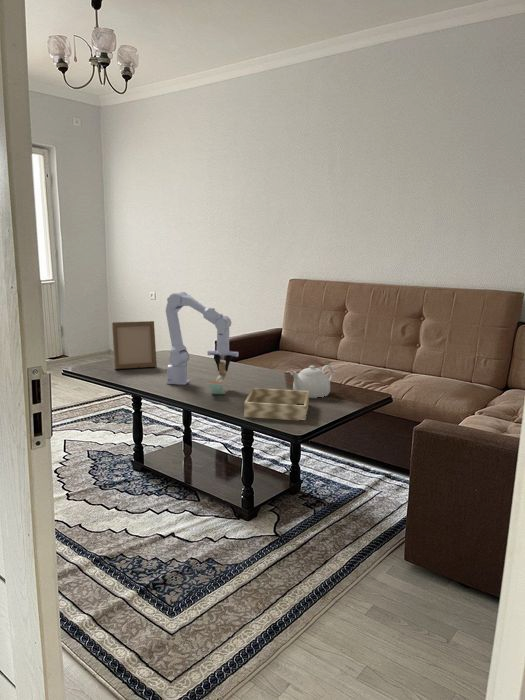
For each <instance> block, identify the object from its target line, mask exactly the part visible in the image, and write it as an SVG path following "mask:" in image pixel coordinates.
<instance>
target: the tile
mask: <svg viewBox="0 0 525 700" xmlns="http://www.w3.org/2000/svg"><path fill="white" fill-rule="evenodd" d="M208 387H209V391H210V393H211V394H213V395H225V392H226V391H225V387H224V383H223V381H222V382H217V381H215V380H213V381H212V380H209V381H208Z"/></svg>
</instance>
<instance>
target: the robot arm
mask: <svg viewBox="0 0 525 700" xmlns="http://www.w3.org/2000/svg"><path fill="white" fill-rule="evenodd" d="M166 299H167V300H166V301H167V303H166V307H165V315H166V316H165V317H166V320H167V321H166V322H167V326H168V333H169V338H170V343H171V348H170V350H169V358H168V359H169V363H170V364H168V365H167V368H166V384H167V385H182V386H183V385H184V386H186V385H187V384H188V383H189V382H190V379H188V362H189V360H190V354H189V352H188V350H187V346H186V345H184V342H183V337H182V330H181V325H180V319H179V316H178V315H179V313H178V312H180V310H181V309H182V308H183V307H190V308H192V309H193V310H196V311H197V312H198V313H200V314H202V316H203V318H204V319H205V320H207V321H208V322H209V323H212V324H213V326H215V329H216V330H217V331H216V350H207V356H213V360H214V362H215V364H216V367H217V372H219V363H220V362H221V357H225V358H224V359H225V362H226V368H225V370H226V371H227V372H228V371H229V366H230V363H231V362H232V361H231V360H232V358H233V357H235V358H238V357H239V351H232V350H230V327H231V325H232V319H230V317H229V316H227V315H224V314H222V313H220V312H218V311H217V310H216V308H214V307H206V306H204V305H203V304H202V303H200V302H199V301H198V300H196V299H195V298H194V297H192V296H191V294H188V293H187V292H184V291H181V292H175V293H171V294H170V295H169V296H168V297H167V298H166Z"/></svg>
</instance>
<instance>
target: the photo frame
mask: <svg viewBox="0 0 525 700" xmlns="http://www.w3.org/2000/svg"><path fill="white" fill-rule="evenodd" d="M111 324H112V325H111V326H112V327H111V329H112V343H113V356H114V357H113V360H114V370H121V369H136V368H138V367H139V368H151V367H152V368H154V367H157V365H158V364H157V362H158V361H157V350H156V349H157V348H156V333H155V321H154V320H151V321H124V322H123V321H116V322H112V323H111Z"/></svg>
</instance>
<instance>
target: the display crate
mask: <svg viewBox="0 0 525 700" xmlns="http://www.w3.org/2000/svg"><path fill="white" fill-rule="evenodd" d="M309 399H310V398H309V391H297V390H293V389H278V388H277V389H276V388H259V387H252V389H251V390H250V392H249V394H248V395H247V397H246V399H245V401H244V403H243V407H244V408H243V417H244V418H251V419H252V418H253V419H256V418H257V419H271V420H272V419H273V420H286V421H287V420H288V421H299V420H306V421H307V416H306V415H307V414H308V409H309V403H310V402H309V401H310V400H309ZM297 404H304V405H297Z"/></svg>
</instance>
